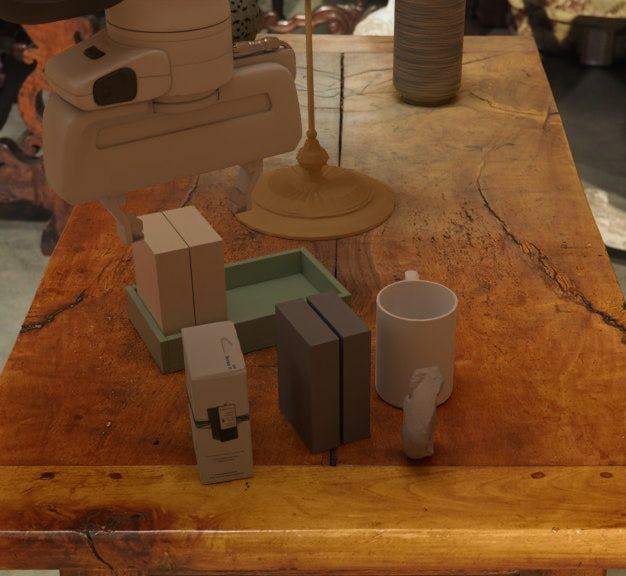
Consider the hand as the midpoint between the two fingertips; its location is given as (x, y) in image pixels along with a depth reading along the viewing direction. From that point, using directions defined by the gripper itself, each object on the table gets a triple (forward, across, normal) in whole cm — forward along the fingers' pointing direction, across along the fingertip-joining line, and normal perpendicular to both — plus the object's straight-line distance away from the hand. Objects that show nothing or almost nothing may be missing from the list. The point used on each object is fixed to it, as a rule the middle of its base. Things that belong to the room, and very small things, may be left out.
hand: (186, 224), depth 85 cm
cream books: (+24, -8, -22) cm, 33 cm away
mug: (+25, -24, -1) cm, 35 cm away
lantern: (+25, -52, -94) cm, 111 cm away
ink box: (+25, -2, -1) cm, 25 cm away
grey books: (+25, -12, 0) cm, 28 cm away
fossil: (+25, -17, +10) cm, 32 cm away
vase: (+25, -77, -67) cm, 105 cm away
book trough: (+25, -15, -21) cm, 36 cm away
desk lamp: (+25, -38, -42) cm, 62 cm away
